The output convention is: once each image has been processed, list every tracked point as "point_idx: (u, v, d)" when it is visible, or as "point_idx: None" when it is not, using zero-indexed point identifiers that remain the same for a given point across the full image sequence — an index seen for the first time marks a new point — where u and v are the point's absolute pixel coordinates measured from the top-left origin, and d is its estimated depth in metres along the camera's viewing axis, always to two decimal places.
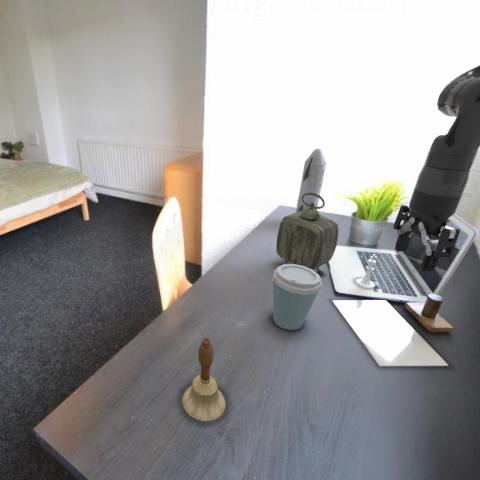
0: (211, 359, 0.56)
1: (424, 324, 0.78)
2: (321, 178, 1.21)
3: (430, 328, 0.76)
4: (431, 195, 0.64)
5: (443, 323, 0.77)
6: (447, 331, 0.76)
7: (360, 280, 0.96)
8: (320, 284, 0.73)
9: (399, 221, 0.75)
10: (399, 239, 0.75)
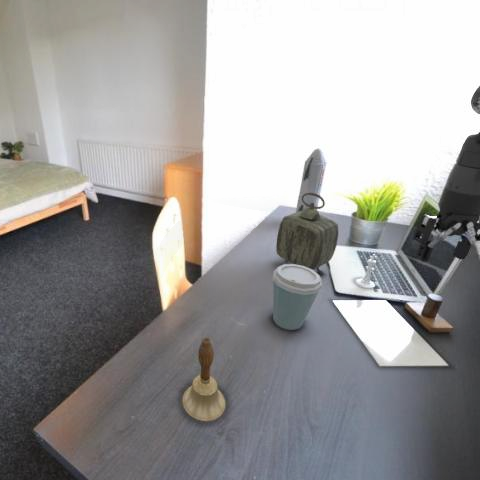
0: (211, 359, 0.56)
1: (424, 324, 0.78)
2: (321, 178, 1.21)
3: (430, 328, 0.76)
4: None
5: (443, 323, 0.77)
6: (447, 331, 0.76)
7: (360, 280, 0.96)
8: (320, 284, 0.73)
9: None
10: None
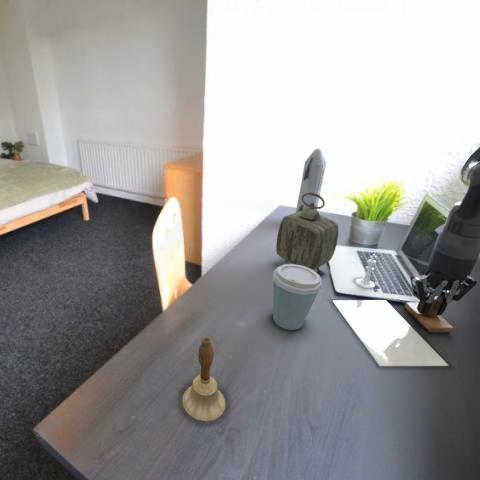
0: (211, 359, 0.56)
1: (424, 324, 0.78)
2: (321, 178, 1.21)
3: (430, 328, 0.76)
4: None
5: (443, 323, 0.77)
6: (447, 331, 0.76)
7: (360, 280, 0.96)
8: (320, 284, 0.73)
9: None
10: None
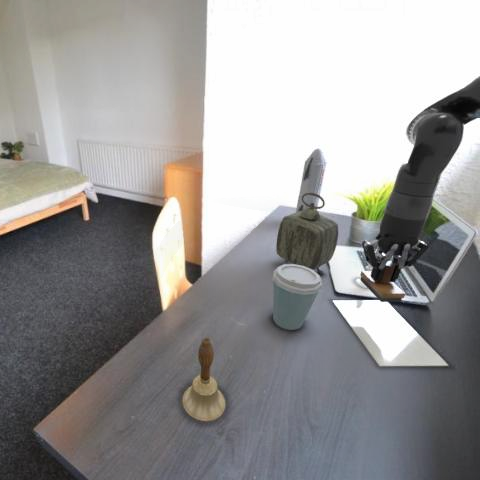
0: (211, 359, 0.56)
1: (377, 291, 0.76)
2: (321, 178, 1.21)
3: (382, 294, 0.75)
4: None
5: (395, 289, 0.75)
6: (399, 297, 0.75)
7: (360, 280, 0.96)
8: (320, 284, 0.73)
9: None
10: None
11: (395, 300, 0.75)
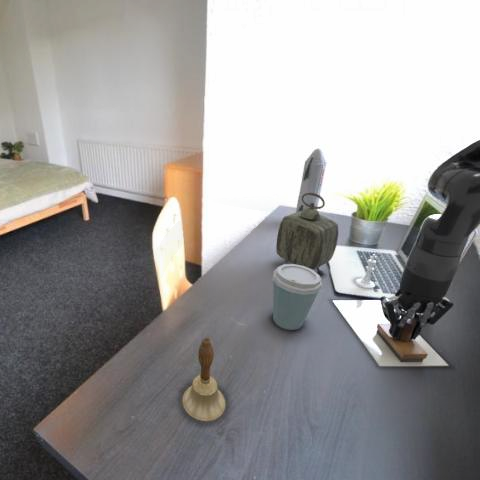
0: (211, 359, 0.56)
1: (396, 349, 0.70)
2: (321, 178, 1.21)
3: (402, 354, 0.68)
4: None
5: (416, 348, 0.69)
6: (421, 358, 0.68)
7: (360, 280, 0.96)
8: (320, 284, 0.73)
9: None
10: None
11: (416, 360, 0.69)
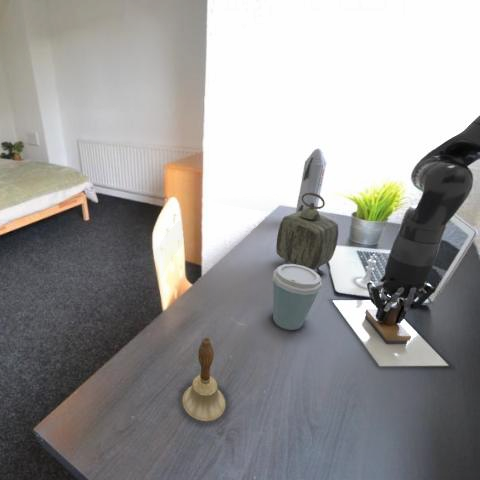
0: (211, 359, 0.56)
1: (382, 332, 0.75)
2: (321, 178, 1.21)
3: (387, 337, 0.73)
4: None
5: (401, 331, 0.74)
6: (405, 340, 0.73)
7: (360, 280, 0.96)
8: (320, 284, 0.73)
9: None
10: None
11: (401, 342, 0.74)
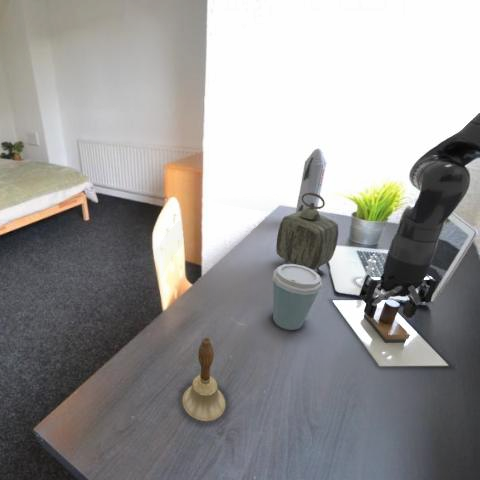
0: (211, 359, 0.56)
1: (381, 331, 0.75)
2: (321, 178, 1.21)
3: (386, 335, 0.73)
4: None
5: (400, 330, 0.74)
6: (404, 338, 0.73)
7: (360, 280, 0.96)
8: (320, 284, 0.73)
9: (420, 289, 0.74)
10: None
11: (399, 341, 0.74)
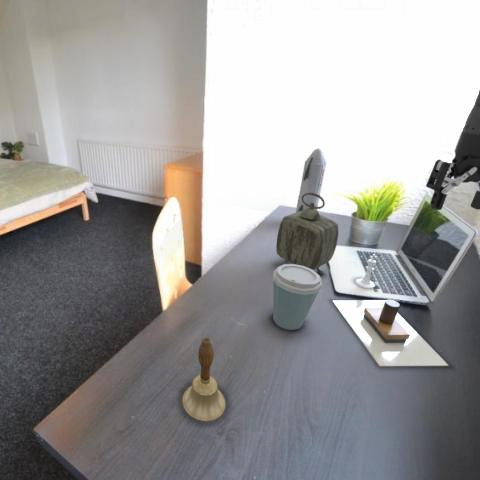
0: (211, 359, 0.56)
1: (381, 331, 0.75)
2: (321, 178, 1.21)
3: (386, 335, 0.73)
4: (461, 131, 0.67)
5: (400, 330, 0.74)
6: (404, 338, 0.73)
7: (360, 280, 0.96)
8: (320, 284, 0.73)
9: None
10: None
11: (399, 341, 0.74)
